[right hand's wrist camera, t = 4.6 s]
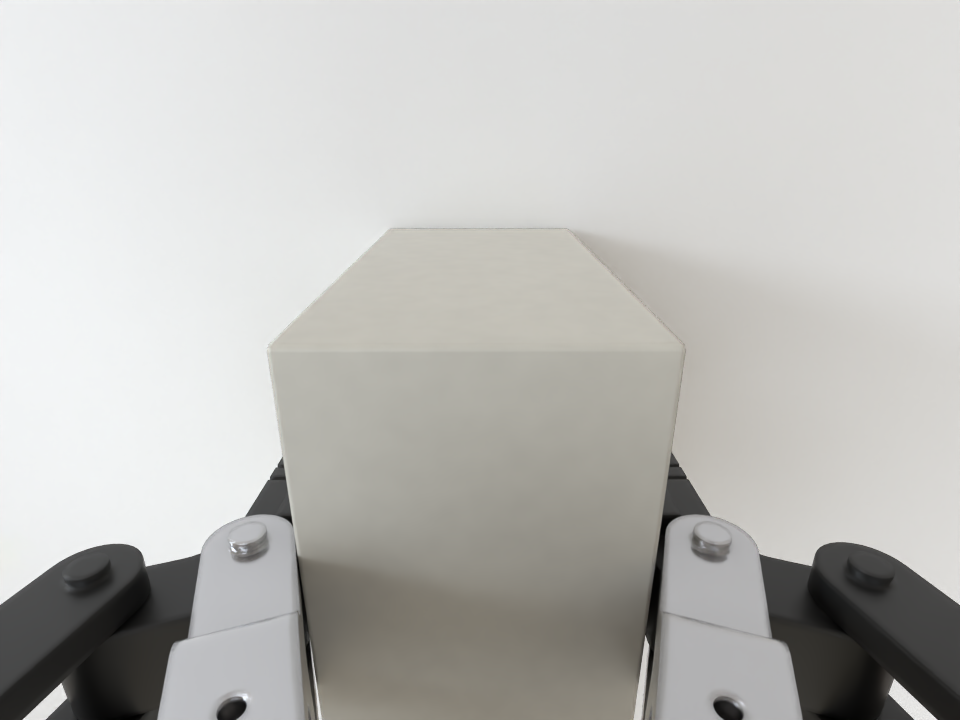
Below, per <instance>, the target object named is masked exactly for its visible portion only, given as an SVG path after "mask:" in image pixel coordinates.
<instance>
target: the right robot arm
mask: <svg viewBox="0 0 960 720" xmlns="http://www.w3.org/2000/svg"><path fill="white" fill-rule="evenodd" d="M645 635H646V638H647V641H648V643H649V649H648V655H647V665H646V676H645V687H644V698H643V709H642V720H914V719H913V718H912V717H911V716H910V715H909V714H908V713H907V712H906V711H905V710H904V709H903V708H902V707H901V706H900V705H899V704H898V703H897V702H896V701H895V700H894V699H893V698H892V697H891V696H890V695H889V694H888V693H889V691H890V688H891V685H892V683H893V680H894V679H895V680H896V681H897V682H899V683H900V684H901V685H902V686H903V687H904V688H905V689H906V690H907V691H908V692H909V693H910V694H911V695H912V696H913V697H914V698H915V699H916V700H917V701H919V702H920V703H921V704H922V705H923V706H924V707H925V708H926V709H927V710H928V711H929V712H930V713H931V714H932V715H933V716H934V717H935V718H936V719H937V720H960V605H959V604H957V603H956V602H955V601H953V600H952V599H951V598H949V597H948V596H947V595H945V594H944V593H942V592H941V591H940V590H938V589H937V588H936V587H934V586H933V585H932V584H930V583H929V582H928V581H926V580H925V579H923V578H922V577H921V576H919V575H918V574H917V573H915V572H914V571H913V570H911V569H910V568H908V567H907V566H906V565H904V564H903V563H901V562H900V561H898V560H897V559H895V558H893V557H891V556H889V555H887V554H885V553H883V552H881V551H878V550H876V549H873V548H870V547H866V546H863V545H859V544H854V543H845V542H836V543H829V544H826V545H824V546H822V547H820V548H819V549H818V550H817V552H816V554H815V557H814V561H813V564H812V566H808V565H803V564H798V563H794V562H789V561H784V560H780V559H775V558H771V557H767V556H763V555H760V554H759V551H758V547H757V545H756V543H755V542H754V540H753V539H752V538H751V537H750V536H749V535H748V534H747V533H746V532H745V531H743V530H742V529H741V528H739V527H738V526H736V525H734V524H732V523H730V522H728V521H725V520H723V519H720V518H716V517H712V516H711V515H710V514H709V512H708V511H707V509H706V507H705V506H704V504H703V502H702V501H701V499H700V498H699V496H698V494H697V493H696V491H695V489H694V488H693V486H692V485H691V483H690V481H689V480H688V479H686V475H685V473H684V472H683V470H682V468H681V467H679V463H678V462H677V460H676V459H675V457H674V455H673V454H672V452H671V457H670V464H669V471H668V478H667V485H666V492H665V500H664V507H663V514H662V521H661V528H660V535H659V542H658V549H657V556H656V563H655V570H654V577H653V584H652V591H651V598H650V605H649V612H648V619H647V626H646V633H645ZM61 682H62V685H63V688H64V690H65V693H66V696H67V699H66V700H65V701H64V702H63V703H62V704H61V705H60V706H59V707H58V708H57V709H56V710H55V711H54V712H53V713H52V714H51V715H50V716H49V717H48V718H47V719H46V720H319V719H318V708H317V698H316V687H315V676H314V665H313V655H312V649H311V642H310V635H309V629H308V622H307V615H306V608H305V602H304V595H303V588H302V582H301V575H300V568H299V562H298V555H297V548H296V542H295V535H294V528H293V522H292V515H291V508H290V501H289V495H288V488H287V481H286V475H285V468H284V461H283V457H282V459H281V460H280V462H279V464H278V468H275V470H274V472H273V473H272V475H271V476H270V480H268V481H267V483H266V484H265V486H264V488H263V489H262V491H261V492H260V494H259V496H258V497H257V499H256V500H255V502H254V504H253V505H252V507H251V508H250V510H249V512H248V513H247V515H246V516H245V517H244V518H240V519H237V520H235V521H232V522H230V523H228V524H226V525H224V526H222V527H221V528H219V529H218V530H217V531H215V532H214V533H213V534H212V535H211V536H210V537H209V538H208V539H207V540H206V542H205V543H204V545H203V547H202V551H201V554H198V555H195V556H192V557H188V558H184V559H180V560H175V561H171V562H166V563H161V564H157V565H152V566H148V567H146V566H145V562H144V559H143V556H142V553H141V552H140V551H139V550H138V549H137V548H135V547H133V546H130V545H126V544H109V545H102V546H97V547H93V548H90V549H87V550H84V551H81V552H79V553H76V554H74V555H72V556H70V557H68V558H66V559H64V560H62V561H61V562H59V563H57V564H56V565H54V566H53V567H51V568H50V569H49V570H47V571H46V572H45V573H43V574H42V575H41V576H39V577H38V578H37V579H35V580H34V581H32V582H31V583H30V584H28V585H27V586H26V587H24V588H23V589H22V590H20V591H19V592H17V593H16V594H15V595H13V596H12V597H11V598H9V599H8V600H7V601H5V602H4V603H3V604H1V605H0V720H23V719H24V718H25V717H26V716H27V715H28V714H29V713H30V712H31V711H32V710H33V709H34V708H35V707H36V706H37V705H38V704H39V703H40V702H41V701H43V700H44V699H45V698H46V697H47V696H48V695H49V694H50V693H51V692H52V691H53V690H54V689H55V688H56V687H57V686H58V685H59V684H60V683H61Z"/></svg>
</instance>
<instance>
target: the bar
mask: <svg viewBox="0 0 960 720" xmlns="http://www.w3.org/2000/svg"><path fill="white" fill-rule="evenodd" d="M685 351H686V349H685V346H684V344H683V343H682V342H681V341H680V340H679V339H678V338H677V337H676V336H675V335H674V334H673V333H672V332H671V331H670V330H669V329H668V328H667V327H666V326H665V325H664V324H663V323H662V322H661V321H660V320H659V319H658V318H657V317H656V316H655V315H654V314H653V313H652V312H651V311H650V310H649V309H648V308H647V307H646V306H645V305H644V304H643V303H642V302H641V301H640V300H639V299H638V298H637V297H636V296H635V295H634V294H633V293H632V292H631V291H630V290H629V289H628V288H627V287H626V286H625V285H624V284H623V283H622V282H621V281H620V280H619V279H618V278H617V277H616V276H615V275H614V274H613V273H612V272H611V271H610V270H609V269H608V268H607V267H606V266H605V265H604V264H603V263H602V262H601V261H600V260H599V259H598V258H597V257H596V256H595V255H594V254H593V253H592V252H591V251H590V250H589V249H588V248H587V247H586V246H585V245H584V244H583V243H582V242H581V241H580V240H579V239H578V238H577V237H576V236H575V235H574V234H573V233H572V232H571V231H570V230H568V229H389V230H388V231H387V232H386V233H385V234H384V235H383V236H381V237H380V238H379V239H378V240H377V241H376V242H375V243H374V244H373V245H372V246H371V247H370V248H369V249H368V250H367V251H366V252H365V253H364V254H363V255H362V256H361V257H360V258H359V259H357V260H356V261H355V262H354V263H353V264H352V265H351V266H350V267H349V268H348V269H347V270H346V271H345V272H344V273H343V274H342V275H341V276H340V277H339V278H338V279H337V280H336V281H335V282H333V283H332V284H331V285H330V286H329V287H328V288H327V289H326V290H325V291H324V292H323V293H322V294H321V295H320V296H319V297H318V298H317V299H316V300H315V301H314V302H313V303H312V304H310V305H309V306H308V307H307V308H306V309H305V310H304V311H303V312H302V313H301V314H300V315H299V316H298V317H297V318H296V319H295V320H294V321H293V322H292V323H291V324H290V325H289V326H288V327H286V328H285V329H284V330H283V331H282V332H281V333H280V334H279V335H278V336H277V337H276V338H275V339H274V340H273V341H272V342H271V343H270V344H269V345H268V348H267V354H268V361H269V368H270V374H271V381H272V388H273V394H274V401H275V408H276V415H277V421H278V428H279V435H280V441H281V448H282V455H283V461H284V468H285V475H286V481H287V488H288V495H289V501H290V508H291V515H292V522H293V528H294V535H295V542H296V548H297V555H298V562H299V568H300V575H301V582H302V588H303V595H304V602H305V608H306V615H307V622H308V629H309V635H310V642H311V649H312V655H313V662H314V669H315V675H316V682H317V689H318V695H319V702H320V709H321V715H322V720H633V718H634V711H635V704H636V697H637V690H638V683H639V676H640V669H641V662H642V655H643V648H644V641H645V633H646V626H647V619H648V612H649V605H650V598H651V591H652V584H653V577H654V570H655V563H656V556H657V549H658V542H659V535H660V528H661V521H662V514H663V507H664V500H665V492H666V485H667V478H668V471H669V464H670V457H671V450H672V443H673V436H674V429H675V422H676V415H677V408H678V401H679V394H680V387H681V380H682V373H683V366H684V359H685Z"/></svg>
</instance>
